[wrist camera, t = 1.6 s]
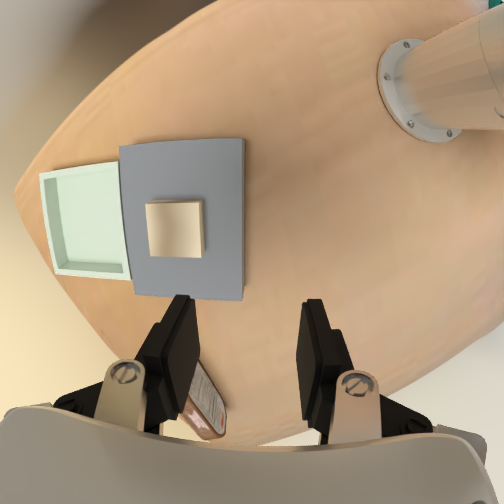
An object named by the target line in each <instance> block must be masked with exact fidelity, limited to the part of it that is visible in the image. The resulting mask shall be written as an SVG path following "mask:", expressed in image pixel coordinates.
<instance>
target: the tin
mask: <svg viewBox="0 0 504 504" xmlns="http://www.w3.org/2000/svg"><path fill="white" fill-rule="evenodd" d="M181 416H182V417H183V418H184V419H185V421H186V422H187V423H188V424H189V425H190V427H191V428H192V429H193V430H194V431H195V432H196V434H197V435H198V436H199V437H200V438H201V439H203V440H209V439H217V438H222V437H223V436H224V435H225V433H226V419H227V415H226V409H225V406H224V403H223V400H222V398H221V396H220V394H219V392H218V391H217V389H216V387H215V386H214V384H213V382H212V381H211V379H210V378H209V376H208V374H207V373H206V371H205V369H204V368H203V366H202V364H201V363H200V361H199V360H198V363H197V366H196V370H195V373H194V376H193V380H192V383H191V387H190V390H189V394H188V397H187V400H186V404H185V407H184V411H183V413H182V414H181Z"/></svg>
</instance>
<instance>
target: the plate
mask: <svg viewBox="0 0 504 504" xmlns="http://www.w3.org/2000/svg"><path fill="white" fill-rule="evenodd" d="M119 155H120V177H121V192H122V204H123V214H124V224H125V232H126V240H127V248H128V255H129V261H130V268H131V274H132V279H133V285H134V290H135V295H146V296H158V297H172V298H174V297H175V295H176V294H181V295H190V298H191V299H205V300H226V301H242V299H243V292H244V286H245V139H243V138H219V139H194V140H177V141H164V142H153V143H143V144H135V145H126V146H119ZM160 199H204V223H205V246H206V250H205V252H204V254H203V256H202V258H191V257H159V256H150V248H149V239H148V230H147V219H146V207H145V204H146V203H148V202H150V201H152V200H160Z"/></svg>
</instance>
